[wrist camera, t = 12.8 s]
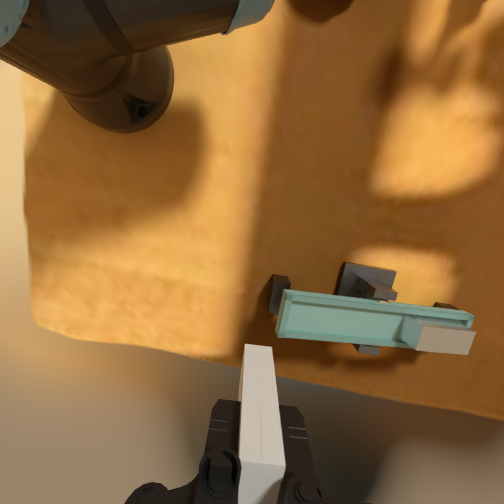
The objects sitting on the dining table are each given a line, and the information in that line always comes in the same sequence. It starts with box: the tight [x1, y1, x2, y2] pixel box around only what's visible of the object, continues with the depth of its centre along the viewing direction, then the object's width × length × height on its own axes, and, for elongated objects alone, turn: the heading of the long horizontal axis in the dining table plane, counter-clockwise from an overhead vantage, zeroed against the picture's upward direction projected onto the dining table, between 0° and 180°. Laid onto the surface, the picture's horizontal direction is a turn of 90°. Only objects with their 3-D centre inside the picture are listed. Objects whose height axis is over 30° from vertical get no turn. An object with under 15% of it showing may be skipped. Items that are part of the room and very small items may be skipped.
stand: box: [267, 262, 459, 356], centre depth 40 cm, size 13×29×7 cm, turn 80°
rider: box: [398, 314, 476, 355], centre depth 36 cm, size 3×8×4 cm, turn 80°
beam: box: [275, 289, 475, 349], centre depth 37 cm, size 7×28×2 cm, turn 80°
